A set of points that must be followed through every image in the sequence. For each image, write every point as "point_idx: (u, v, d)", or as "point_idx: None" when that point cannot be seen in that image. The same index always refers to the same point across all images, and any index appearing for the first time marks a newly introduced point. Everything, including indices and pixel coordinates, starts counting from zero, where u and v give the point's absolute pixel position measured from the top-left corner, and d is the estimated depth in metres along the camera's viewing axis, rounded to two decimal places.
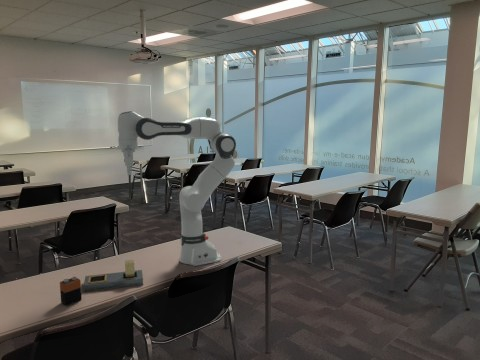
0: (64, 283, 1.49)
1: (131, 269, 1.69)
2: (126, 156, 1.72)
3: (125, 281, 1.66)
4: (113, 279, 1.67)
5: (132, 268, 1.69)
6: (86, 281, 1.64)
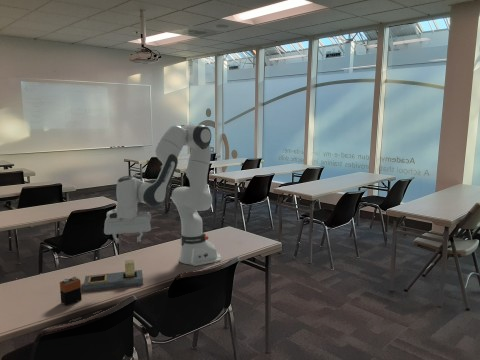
0: (64, 283, 1.49)
1: (131, 269, 1.69)
2: (149, 221, 1.70)
3: (125, 281, 1.66)
4: (113, 279, 1.67)
5: (132, 268, 1.69)
6: (86, 281, 1.64)
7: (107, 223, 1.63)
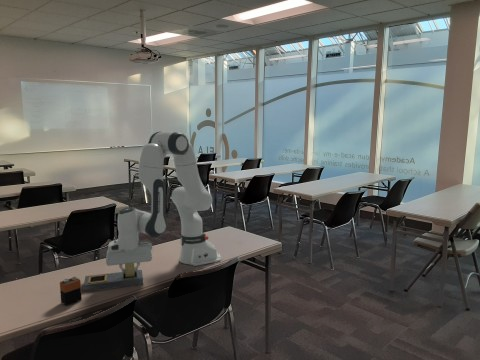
0: (64, 283, 1.49)
1: (131, 269, 1.69)
2: None
3: (125, 281, 1.66)
4: (113, 279, 1.67)
5: (132, 268, 1.69)
6: (86, 281, 1.64)
7: (109, 255, 1.65)
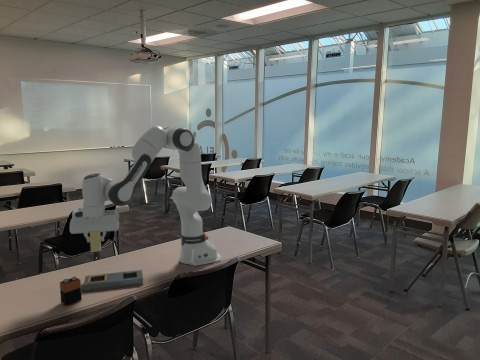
0: (64, 283, 1.49)
1: (96, 238, 1.63)
2: (117, 220, 1.65)
3: (125, 281, 1.66)
4: (113, 279, 1.67)
5: (97, 237, 1.63)
6: (86, 281, 1.64)
7: (72, 222, 1.58)
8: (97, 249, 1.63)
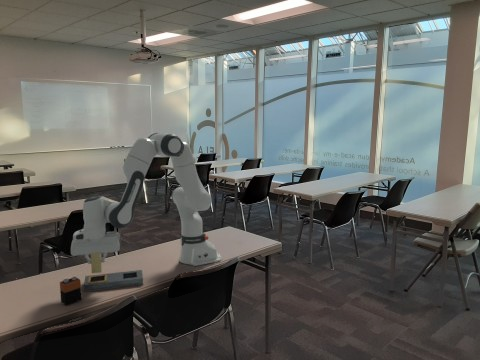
0: (64, 283, 1.49)
1: (97, 260, 1.64)
2: (118, 241, 1.67)
3: (125, 281, 1.66)
4: (113, 279, 1.67)
5: (98, 258, 1.64)
6: (86, 281, 1.64)
7: (73, 244, 1.60)
8: (98, 270, 1.65)
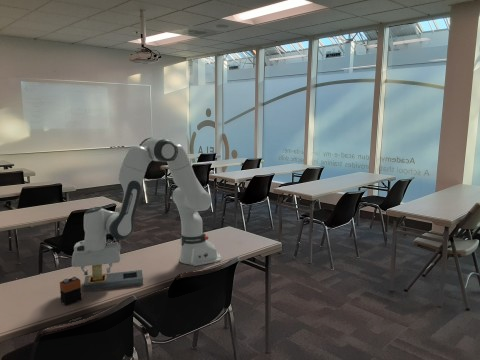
0: (64, 283, 1.49)
1: (98, 273, 1.65)
2: (119, 252, 1.67)
3: (125, 281, 1.66)
4: (113, 279, 1.67)
5: (100, 272, 1.65)
6: (86, 281, 1.64)
7: (74, 256, 1.61)
8: None
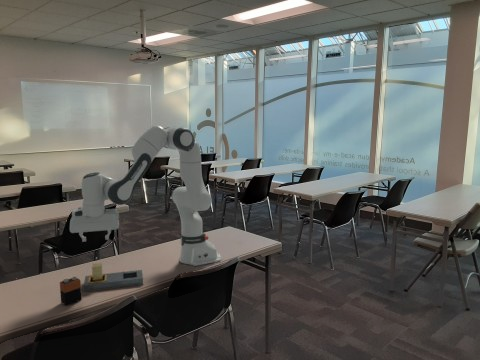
0: (64, 283, 1.49)
1: (98, 273, 1.65)
2: (117, 219, 1.65)
3: (125, 281, 1.66)
4: (113, 279, 1.67)
5: (100, 272, 1.65)
6: (86, 281, 1.64)
7: (72, 221, 1.59)
8: None
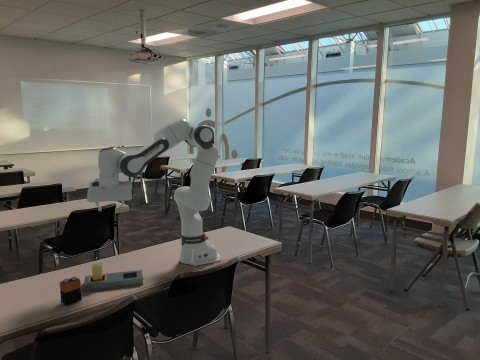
0: (64, 283, 1.49)
1: (98, 273, 1.65)
2: None
3: (125, 281, 1.66)
4: (113, 279, 1.67)
5: (100, 272, 1.65)
6: (86, 281, 1.64)
7: (90, 191, 1.72)
8: None
